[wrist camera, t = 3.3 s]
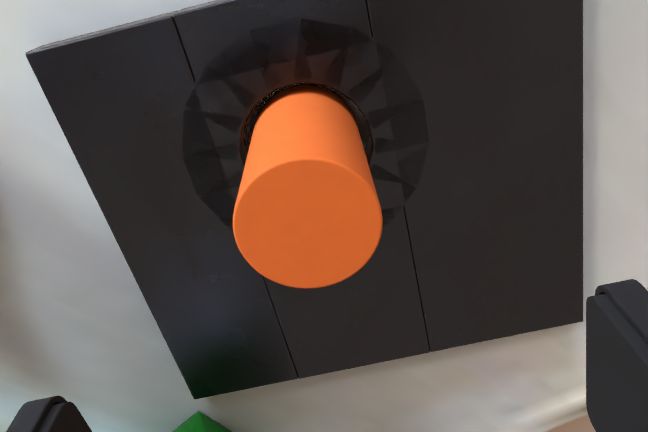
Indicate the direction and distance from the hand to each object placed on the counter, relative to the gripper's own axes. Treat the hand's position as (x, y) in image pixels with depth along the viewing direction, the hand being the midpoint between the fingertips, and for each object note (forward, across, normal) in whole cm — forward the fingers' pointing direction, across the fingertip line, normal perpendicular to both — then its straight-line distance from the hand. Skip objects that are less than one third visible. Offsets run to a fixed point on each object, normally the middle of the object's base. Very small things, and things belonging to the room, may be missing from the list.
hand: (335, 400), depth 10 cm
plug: (+15, 0, 0) cm, 15 cm away
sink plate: (+15, 0, +3) cm, 15 cm away
